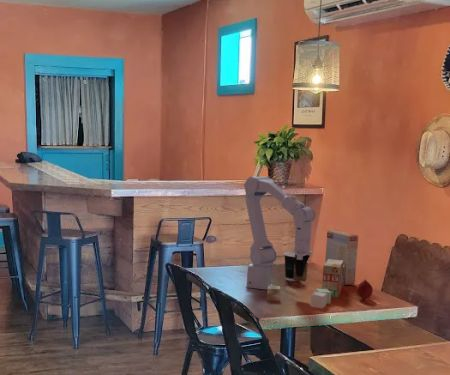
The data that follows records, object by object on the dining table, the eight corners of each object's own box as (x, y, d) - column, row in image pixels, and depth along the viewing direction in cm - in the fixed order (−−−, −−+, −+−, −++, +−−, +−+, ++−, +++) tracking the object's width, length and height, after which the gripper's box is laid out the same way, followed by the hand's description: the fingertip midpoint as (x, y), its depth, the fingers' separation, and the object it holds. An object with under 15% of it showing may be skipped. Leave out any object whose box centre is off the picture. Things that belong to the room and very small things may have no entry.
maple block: (267, 300, 227) (267, 288, 226) (266, 297, 231) (267, 285, 231) (279, 301, 226) (280, 289, 226) (278, 297, 231) (279, 286, 231)
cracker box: (355, 284, 256) (359, 235, 254) (344, 285, 253) (347, 235, 251) (334, 276, 268) (337, 229, 266) (323, 277, 265) (326, 229, 263)
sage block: (318, 304, 225) (319, 292, 225) (314, 300, 230) (315, 288, 229) (330, 304, 226) (331, 292, 226) (326, 300, 231) (326, 288, 230)
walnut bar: (293, 280, 229) (294, 264, 229) (294, 277, 234) (295, 261, 233) (305, 281, 228) (306, 265, 228) (306, 278, 233) (307, 263, 232)
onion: (372, 298, 236) (374, 278, 235) (371, 302, 230) (372, 281, 230) (357, 296, 238) (358, 276, 237) (355, 300, 232) (356, 279, 232)
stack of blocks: (329, 283, 256) (331, 254, 255) (344, 285, 255) (346, 256, 253) (321, 296, 236) (323, 264, 235) (337, 298, 234) (339, 266, 233)
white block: (310, 306, 222) (311, 294, 221) (314, 303, 226) (315, 291, 225) (322, 308, 220) (323, 296, 219) (326, 305, 224) (327, 293, 223)
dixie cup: (297, 277, 264) (299, 252, 263) (303, 282, 256) (305, 256, 255) (279, 277, 262) (281, 252, 261) (285, 282, 254) (287, 256, 253)
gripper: (311, 243, 221) (309, 280, 223) (315, 237, 236) (312, 271, 237) (292, 241, 223) (289, 278, 224) (296, 235, 237) (294, 269, 238)
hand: (300, 274), depth 231 cm, fingers closed on walnut bar, 4 cm apart
